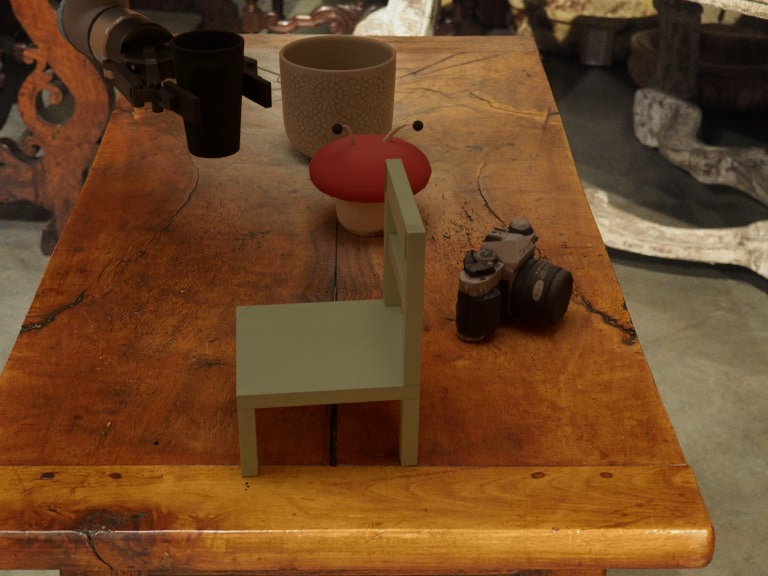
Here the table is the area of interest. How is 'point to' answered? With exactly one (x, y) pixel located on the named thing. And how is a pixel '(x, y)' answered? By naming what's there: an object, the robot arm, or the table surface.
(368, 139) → the mushroom
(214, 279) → the table surface
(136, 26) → the robot arm
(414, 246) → the chair
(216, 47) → the cup
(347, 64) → the planter
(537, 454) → the table surface
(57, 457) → the table surface
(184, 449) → the table surface
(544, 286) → the camera
